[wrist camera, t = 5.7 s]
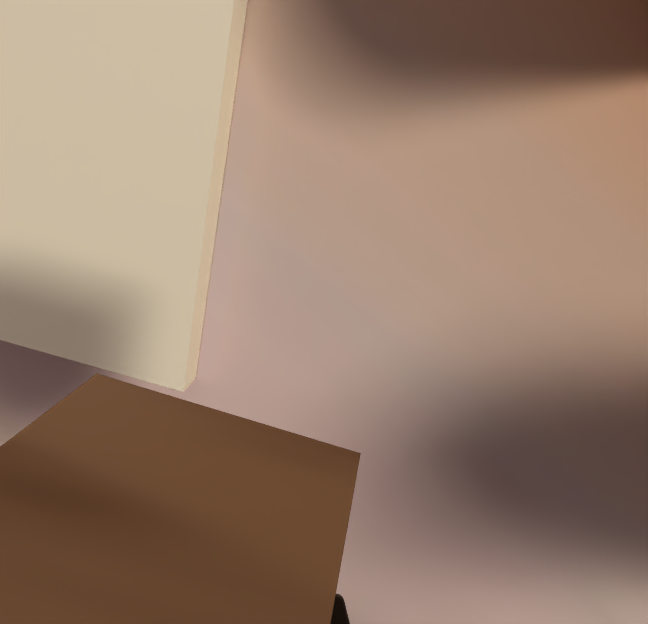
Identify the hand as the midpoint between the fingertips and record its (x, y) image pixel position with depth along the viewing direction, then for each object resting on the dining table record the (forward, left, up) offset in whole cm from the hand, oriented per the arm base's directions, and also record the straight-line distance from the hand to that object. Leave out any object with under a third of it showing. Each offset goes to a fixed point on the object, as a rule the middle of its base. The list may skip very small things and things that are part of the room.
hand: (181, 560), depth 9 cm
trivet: (+5, +10, -11) cm, 16 cm away
